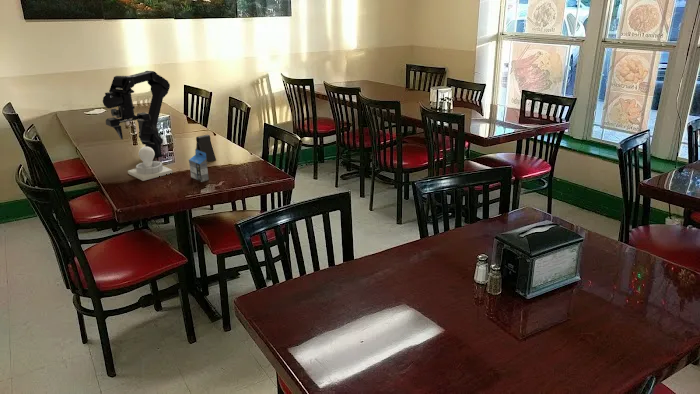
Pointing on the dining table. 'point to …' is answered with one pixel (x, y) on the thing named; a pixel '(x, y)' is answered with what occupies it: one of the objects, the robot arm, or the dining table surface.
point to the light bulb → (147, 156)
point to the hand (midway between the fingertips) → (131, 137)
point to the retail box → (199, 166)
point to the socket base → (149, 176)
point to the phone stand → (205, 147)
